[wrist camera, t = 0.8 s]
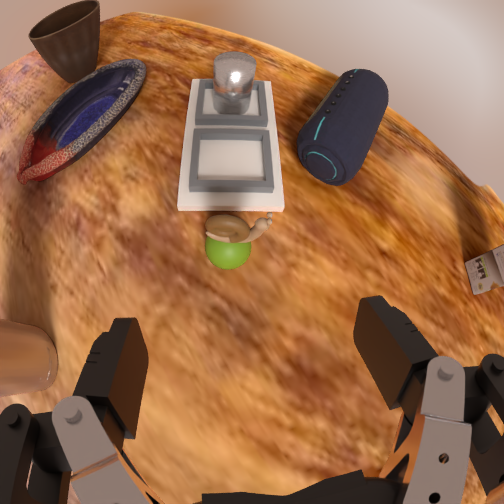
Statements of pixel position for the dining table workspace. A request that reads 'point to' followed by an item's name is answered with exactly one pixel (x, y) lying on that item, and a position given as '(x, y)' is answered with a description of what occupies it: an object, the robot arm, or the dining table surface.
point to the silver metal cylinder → (233, 82)
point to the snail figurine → (231, 239)
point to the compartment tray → (230, 154)
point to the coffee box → (486, 270)
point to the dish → (80, 119)
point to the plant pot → (70, 39)
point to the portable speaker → (343, 127)
